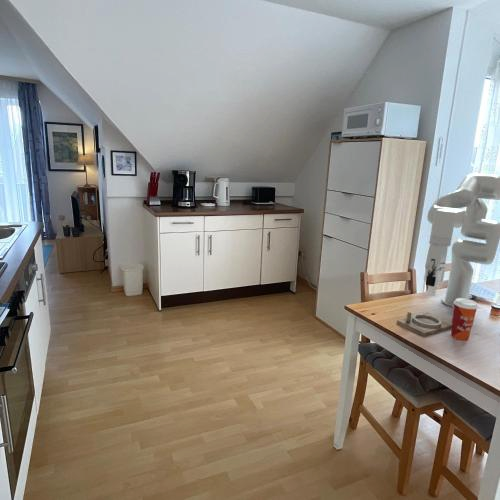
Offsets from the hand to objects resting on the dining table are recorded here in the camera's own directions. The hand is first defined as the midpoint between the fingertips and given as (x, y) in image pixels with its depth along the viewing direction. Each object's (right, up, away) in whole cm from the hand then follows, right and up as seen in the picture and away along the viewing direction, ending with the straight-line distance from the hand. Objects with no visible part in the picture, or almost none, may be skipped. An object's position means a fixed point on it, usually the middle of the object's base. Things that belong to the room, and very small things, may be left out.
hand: (432, 283), depth 147 cm
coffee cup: (+8, -21, -5) cm, 23 cm away
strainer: (0, -5, +1) cm, 5 cm away
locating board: (-1, -18, +5) cm, 19 cm away
